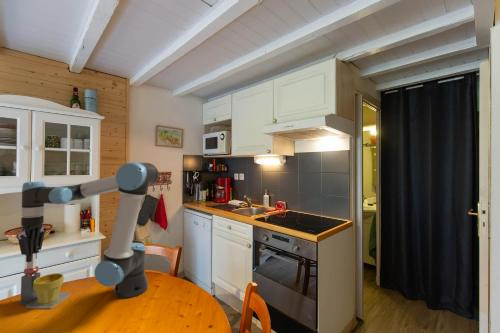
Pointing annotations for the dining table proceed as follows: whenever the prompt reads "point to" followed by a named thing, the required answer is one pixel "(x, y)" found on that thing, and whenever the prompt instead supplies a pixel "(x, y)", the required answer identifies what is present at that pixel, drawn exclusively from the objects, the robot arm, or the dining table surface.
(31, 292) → the press base
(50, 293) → the plant pot
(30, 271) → the ram
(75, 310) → the dining table surface
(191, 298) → the dining table surface
